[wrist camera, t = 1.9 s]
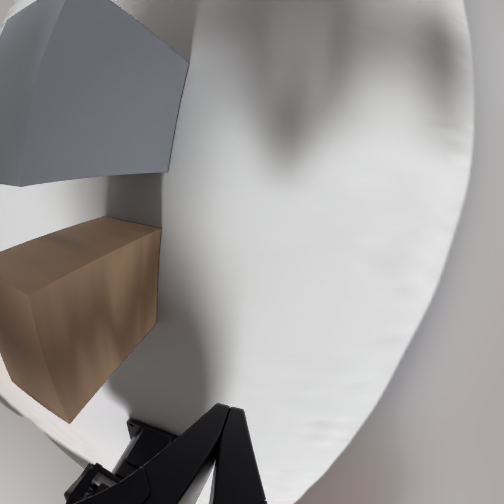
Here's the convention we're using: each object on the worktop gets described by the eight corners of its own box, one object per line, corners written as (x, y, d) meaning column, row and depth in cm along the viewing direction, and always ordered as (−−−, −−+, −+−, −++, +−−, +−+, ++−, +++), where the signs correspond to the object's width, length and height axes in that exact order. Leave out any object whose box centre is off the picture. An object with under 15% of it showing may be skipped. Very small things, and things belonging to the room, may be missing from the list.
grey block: (168, 172, 14) (20, 186, 5) (109, 165, 14) (-29, 180, 5) (189, 64, 12) (77, -21, 3) (128, 67, 12) (7, 19, 3)
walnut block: (157, 322, 16) (69, 424, 8) (106, 304, 17) (12, 381, 8) (162, 228, 14) (28, 295, 6) (105, 216, 15) (-24, 261, 6)
